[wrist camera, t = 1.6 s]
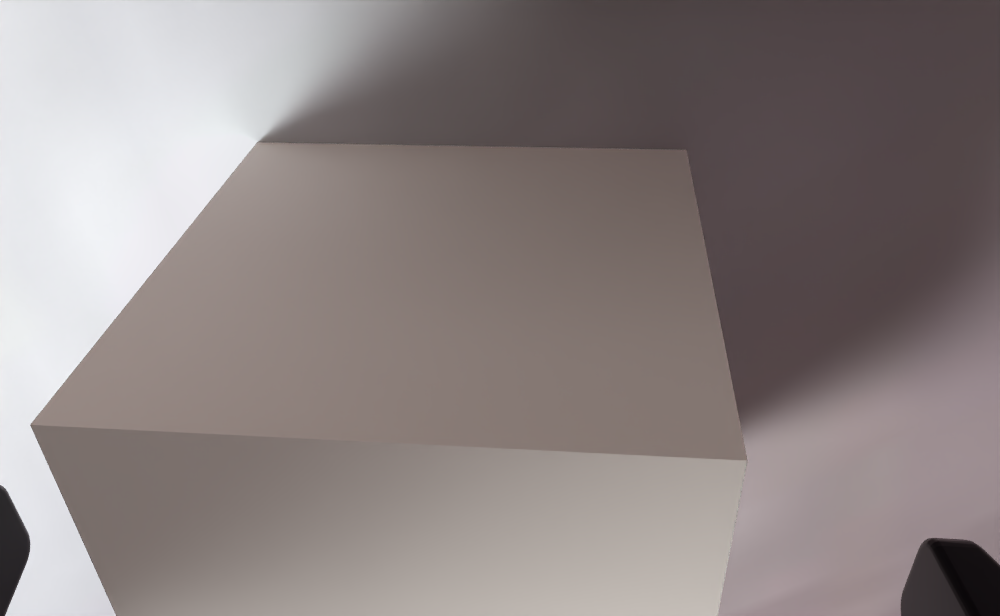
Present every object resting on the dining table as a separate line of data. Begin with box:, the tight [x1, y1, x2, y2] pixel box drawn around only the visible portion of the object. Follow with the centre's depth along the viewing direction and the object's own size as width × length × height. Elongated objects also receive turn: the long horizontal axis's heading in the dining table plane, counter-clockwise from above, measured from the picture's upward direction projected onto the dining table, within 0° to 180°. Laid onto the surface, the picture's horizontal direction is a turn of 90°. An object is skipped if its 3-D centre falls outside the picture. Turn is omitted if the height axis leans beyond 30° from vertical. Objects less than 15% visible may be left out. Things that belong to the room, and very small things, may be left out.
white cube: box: [31, 142, 747, 616], centre depth 9 cm, size 5×5×5 cm
